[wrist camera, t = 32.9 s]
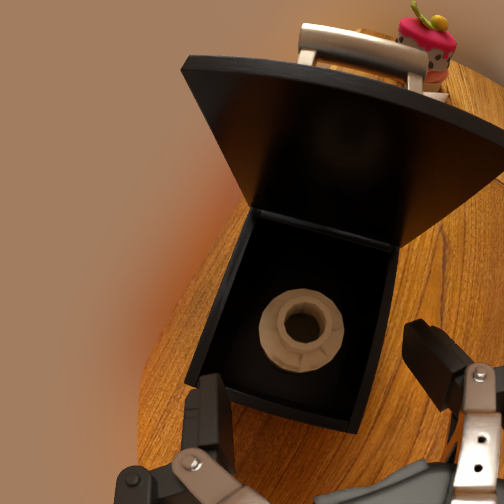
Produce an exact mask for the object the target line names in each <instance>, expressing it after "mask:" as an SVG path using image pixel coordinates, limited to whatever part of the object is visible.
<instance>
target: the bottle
mask: <svg viewBox="0 0 504 504" xmlns="http://www.w3.org/2000/svg"><path fill="white" fill-rule="evenodd" d="M259 335H260V343H261V346H262V348H263V350H264V353H265V355H266V357H267V358H268V360H269V362H270V363H271V365H273V366H274V367H275V368H276V369H278V370H279V371H281V372H284V373H287V374H292V375H297V374H303V373H308V372H311V371H314V370H317V369H319V368H320V367H322V366H323V365H325V364H327V363H328V362H330V361H331V360H332V359H333V357H334V356H335V355H336V353H337V352H338V350H339V349H340V347H341V344H342V340H343V335H344V325H343V320H342V315H341V313H340V312H339V310H338V309H337V307H336V306H335V304H334V302H333V301H332V300H330V299H329V298H327V297H326V296H325V295H323V294H322V293H320V292H318V291H313V290H309V289H303V288H302V289H295V290H289V291H286V292H284V293H282V294H281V295H279V296H277V297H276V298H274V299H273V300H272V301H271V302H270V303H269V305H268V306H267V307H266V309H265V310H264V311H263V313H262V317H261V321H260V324H259Z"/></svg>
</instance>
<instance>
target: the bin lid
mask: <svg viewBox="0 0 504 504" xmlns="http://www.w3.org/2000/svg"><path fill="white" fill-rule="evenodd" d="M298 55H299V56H298V59H297V62H296V63H292V62H285V61H276V60H268V59H258V58H246V57H233V56H232V57H231V56H211V55H210V56H209V55H189V56H188V58H187V60H186V61H185V63H184V65H183V66H182V68H181V73H182V74H183V76H184V78H185V80H186V82H187V84H188V86H189V88H190V90H191V92H192V94H193V96H194V98H195V99H196V102H197V103H198V106H199V107H200V109H201V111H202V113H203V115H204V117H205V119H206V121H207V123H208V125H209V127H210V129H211V131H212V133H213V135H214V137H215V139H216V141H217V143H218V145H219V147H220V149H221V151H222V153H223V155H224V157H225V159H226V161H227V163H228V165H229V167H230V169H231V171H232V173H233V175H234V177H235V179H236V181H237V183H238V185H239V187H240V189H241V191H242V193H243V195H244V197H245V199H246V201H247V203H248V205H249V207H252V208H256V209H260V210H264V211H268V212H272V213H276V214H280V215H284V216H288V217H292V218H296V219H299V220H303V221H307V222H311V223H315V224H318V225H322V226H326V227H330V228H333V229H337V230H341V231H344V232H348V233H351V234H355V235H359V236H362V237H366V238H369V239H373V240H376V241H380V242H383V243H386V244H390V245H393V246H397V247H400V248H402V247H403V246H405V245H406V244H408V243H409V242H411V241H412V240H413V239H415V238H416V237H418V236H419V235H421V234H422V233H423V232H425V231H426V230H428V229H429V228H431V227H432V226H433V225H435V224H436V223H438V222H439V221H440V220H442V219H443V218H444V217H446V216H447V215H448V214H450V213H451V212H453V211H454V210H455V209H457V208H458V207H459V206H461V205H462V204H463V203H465V202H466V201H467V200H468V199H470V198H471V197H472V196H474V195H475V194H476V193H478V192H479V191H480V190H481V189H483V188H484V187H485V186H486V185H488V184H489V183H490V182H491V181H493V180H494V179H495V178H496V177H498V176H499V175H500V174H501V173H502V172H504V130H503V129H501V128H499V127H497V126H495V125H493V124H491V123H489V122H487V121H485V120H483V119H481V118H479V117H477V116H474V115H472V114H470V113H468V112H466V111H463V110H461V109H459V108H456V107H454V106H451V105H449V104H446V103H444V102H441V101H439V100H436V99H433V98H431V97H428V96H425V95H423V84H424V82H425V79H426V76H427V71H428V63H429V59H428V54H427V53H426V52H424V51H421V50H418V49H415V48H412V47H409V46H406V45H403V44H400V43H396V42H393V41H389V40H386V39H382V38H378V37H375V36H371V35H366V34H362V33H358V32H353V31H349V30H344V29H339V28H333V27H327V26H321V25H315V24H308V23H304V24H303V25H302V27H301V30H300V34H299V41H298ZM317 62H322V63H327V64H332V65H337V66H341V67H346V68H350V69H355V70H359V71H363V72H367V73H371V74H374V75H378V76H382V77H385V78H389V79H392V80H395V81H399V82H402V83H404V88H401V87H398V86H395V85H392V84H388V83H385V82H381V81H378V80H374V79H370V78H367V77H363V76H359V75H354V74H350V73H346V72H341V71H337V70H332V69H327V68H322V67H316V64H317Z"/></svg>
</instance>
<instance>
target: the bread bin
mask: <svg viewBox="0 0 504 504" xmlns="http://www.w3.org/2000/svg"><path fill="white" fill-rule="evenodd" d="M399 249H400V247H397V246H393V245H390V244H386V243H383V242H380V241H376V240H373V239H369V238H366V237H362V236H359V235H355V234H351V233H348V232H344V231H341V230H337V229H333V228H330V227H326V226H322V225H318V224H315V223H311V222H307V221H303V220H299V219H296V218H292V217H288V216H284V215H280V214H276V213H272V212H268V211H264V210H260V209H256V208H252V207H251V208H250V210H249V213H248V215H247V218H246V220H245V223H244V225H243V228H242V230H241V233H240V235H239V238H238V241H237V243H236V246H235V248H234V251H233V253H232V256H231V259H230V261H229V264H228V266H227V269H226V272H225V274H224V277H223V279H222V282H221V285H220V287H219V290H218V292H217V295H216V298H215V300H214V303H213V306H212V308H211V311H210V314H209V316H208V319H207V321H206V324H205V327H204V329H203V332H202V335H201V337H200V340H199V343H198V346H197V348H196V351H195V354H194V356H193V359H192V362H191V364H190V367H189V370H188V373H187V375H186V378H185V381H184V383H185V384H187V385H189V386H192V387H196V388H197V389H199V388H200V378H201V376H203V375H209V374H214V373H219V374H220V376H221V378H222V381H223V384H224V386H225V389H226V391H227V394H228V396H229V400H230V401H232V402H235V403H238V404H241V405H244V406H247V407H250V408H253V409H256V410H259V411H263V412H266V413H269V414H273V415H276V416H279V417H283V418H287V419H290V420H294V421H298V422H301V423H305V424H309V425H313V426H318V427H322V428H326V429H331V430H335V431H340V432H346V433H350V434H355V435H356V434H357V433H358V430H359V427H360V424H361V421H362V418H363V415H364V412H365V408H366V405H367V402H368V399H369V395H370V392H371V388H372V385H373V381H374V378H375V374H376V370H377V366H378V362H379V358H380V354H381V350H382V346H383V341H384V337H385V332H386V328H387V323H388V318H389V313H390V308H391V302H392V297H393V291H394V285H395V278H396V272H397V265H398V257H399ZM302 288H303V289H309V290H313V291H318V292H320V293H322V294H323V295H325V296H326V297H327V298H329V299H330V300H332V301H333V302H334V304H335V306H336V307H337V309H338V310H339V312H340V313H341V315H342V320H343V325H344V335H343V340H342V344H341V347H340V349H339V350H338V352H337V353H336V355H335V356H334V357H333V359H332V360H331V361H330V362H328V363H327V364H325V365H323V366H322V367H320V368H319V369H317V370H314V371H311V372H308V373H303V374H297V375H292V374H287V373H284V372H281V371H279V370H278V369H276V368H275V367H274V366H273V365H271V363H270V362H269V360H268V358H267V357H266V355H265V353H264V350H263V348H262V346H261V343H260V335H259V324H260V321H261V317H262V313H263V311H264V310H265V309H266V307H267V306H268V305H269V303H270V302H271V301H272V300H273V299H274V298H276V297H277V296H279V295H281V294H282V293H284V292H286V291H289V290H295V289H302Z"/></svg>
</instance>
